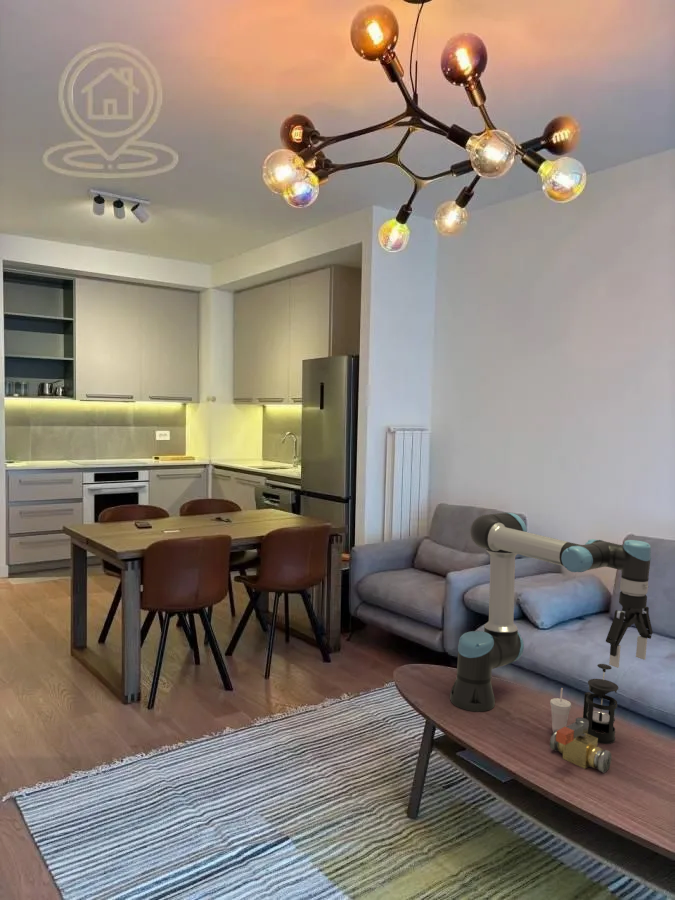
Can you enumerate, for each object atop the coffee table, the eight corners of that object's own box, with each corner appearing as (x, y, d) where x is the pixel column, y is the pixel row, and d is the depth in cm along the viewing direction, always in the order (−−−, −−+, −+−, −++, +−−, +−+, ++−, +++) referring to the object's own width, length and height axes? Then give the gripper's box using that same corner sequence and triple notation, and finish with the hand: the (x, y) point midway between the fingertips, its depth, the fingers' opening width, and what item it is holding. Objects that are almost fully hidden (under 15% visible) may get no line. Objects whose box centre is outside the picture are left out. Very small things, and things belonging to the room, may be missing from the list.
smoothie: (570, 730, 215) (573, 687, 214) (568, 738, 210) (571, 695, 209) (549, 725, 218) (552, 683, 217) (546, 733, 212) (549, 690, 211)
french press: (623, 742, 209) (629, 670, 207) (601, 747, 205) (606, 673, 204) (594, 725, 220) (600, 656, 218) (572, 729, 216) (578, 659, 214)
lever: (578, 726, 199) (579, 716, 198) (590, 731, 196) (591, 721, 196) (554, 740, 190) (555, 729, 190) (566, 745, 187) (567, 734, 187)
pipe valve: (548, 752, 201) (550, 723, 200) (560, 745, 205) (562, 718, 204) (600, 775, 189) (602, 745, 188) (610, 768, 193) (613, 739, 192)
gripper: (620, 601, 191) (613, 674, 192) (668, 591, 205) (662, 659, 206) (596, 594, 197) (591, 664, 199) (645, 585, 211) (639, 650, 213)
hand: (627, 662), depth 203 cm, fingers open, 13 cm apart
